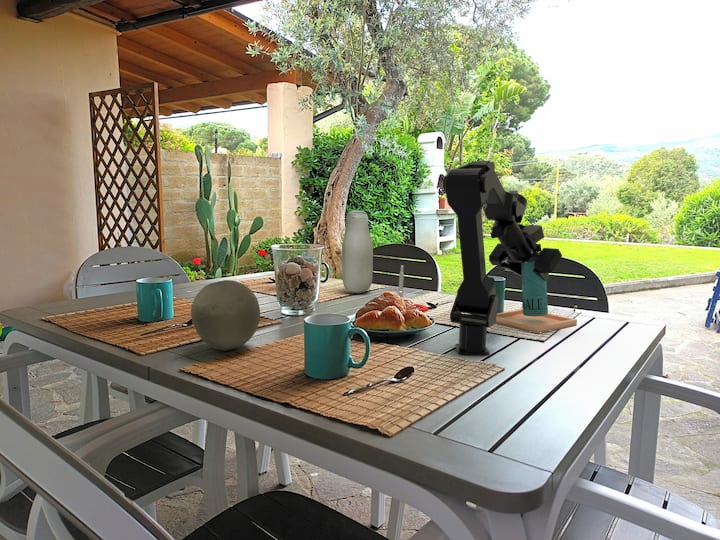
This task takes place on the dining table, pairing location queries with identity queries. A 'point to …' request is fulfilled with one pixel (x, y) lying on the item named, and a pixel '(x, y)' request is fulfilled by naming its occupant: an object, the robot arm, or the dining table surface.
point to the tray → (534, 321)
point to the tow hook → (400, 292)
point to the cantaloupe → (225, 314)
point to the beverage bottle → (533, 290)
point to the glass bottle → (357, 253)
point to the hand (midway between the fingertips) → (536, 278)
